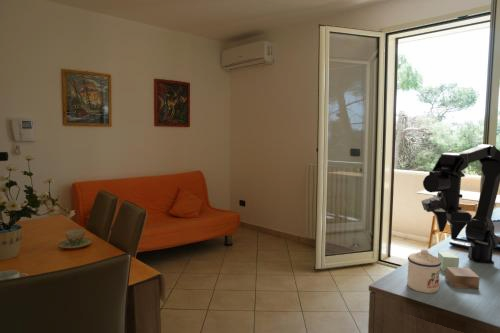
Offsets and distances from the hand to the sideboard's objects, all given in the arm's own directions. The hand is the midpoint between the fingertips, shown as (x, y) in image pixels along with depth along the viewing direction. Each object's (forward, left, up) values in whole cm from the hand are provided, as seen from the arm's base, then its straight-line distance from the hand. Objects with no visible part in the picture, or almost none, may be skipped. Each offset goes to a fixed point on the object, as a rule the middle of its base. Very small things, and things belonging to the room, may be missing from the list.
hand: (447, 235), depth 121 cm
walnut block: (-1, +11, -12) cm, 16 cm away
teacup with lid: (+11, +15, -12) cm, 22 cm away
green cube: (-1, -1, -12) cm, 12 cm away
